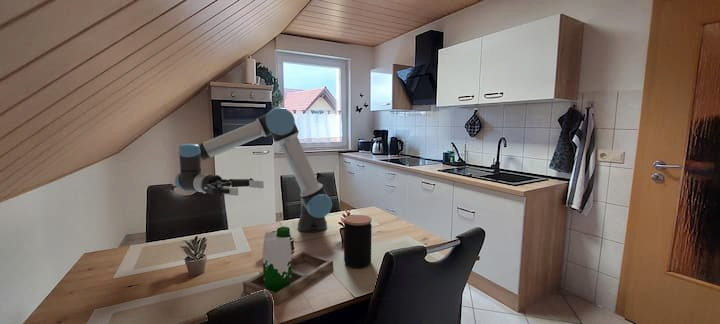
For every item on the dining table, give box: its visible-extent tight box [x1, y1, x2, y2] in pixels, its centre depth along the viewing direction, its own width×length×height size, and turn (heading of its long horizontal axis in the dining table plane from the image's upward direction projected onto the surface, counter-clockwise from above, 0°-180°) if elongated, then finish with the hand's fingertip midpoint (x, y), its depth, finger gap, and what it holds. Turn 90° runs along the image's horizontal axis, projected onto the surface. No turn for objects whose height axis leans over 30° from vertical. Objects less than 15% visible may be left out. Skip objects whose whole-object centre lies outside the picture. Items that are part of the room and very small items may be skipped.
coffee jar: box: [343, 214, 373, 269], centre depth 118 cm, size 11×11×18 cm
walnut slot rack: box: [242, 251, 334, 306], centre depth 106 cm, size 28×15×3 cm, turn 148°
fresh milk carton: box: [262, 226, 293, 293], centre depth 100 cm, size 9×9×20 cm
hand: (250, 188), depth 114 cm, fingers open, 13 cm apart
